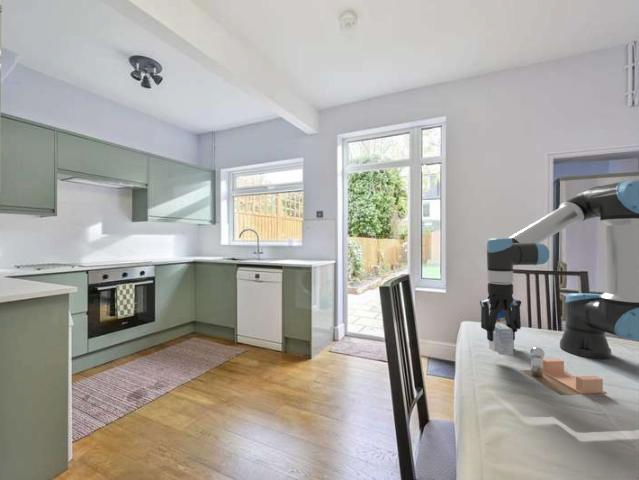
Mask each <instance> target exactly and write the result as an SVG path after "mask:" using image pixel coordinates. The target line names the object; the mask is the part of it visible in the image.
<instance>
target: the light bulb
mask: <svg viewBox="0 0 639 480" xmlns="http://www.w3.org/2000/svg"><path fill="white" fill-rule="evenodd" d="M529 353H530V356H531V357H530V359H531V360H530V361H531V362H530V364H531V365H530V367H531V368H530V370H531V375H532V376H534V377H537V378H543V359H544V357H545V351H544V350H543V349H542V348H540V347H538V346H534V347H532V348H531V349H530V351H529Z"/></svg>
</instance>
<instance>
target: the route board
mask: <svg viewBox="0 0 639 480" xmlns="http://www.w3.org/2000/svg"><path fill="white" fill-rule="evenodd" d="M520 372H522V373H524V374H525V375H527V376H528V377H530V378H532V379H533V380H536V381H537V383H540V384H542V385H544V386H545V387H547V388H548V389H550V390H552V391H554V392H555V393H557V394H558V395H561V396H566V395H567V396H569V395H570V396H571V395H581V394H580V393H578V392H576V391H575V390H573V389H571V388H569V387H567V386H566V385H564V384H562V383H560V382H558V381H557V380H555V379H553V378H551V377H549V376H547V375H546V374H544V373H543V378H537V377H534V376H532V375H531V369H521V370H520ZM564 372H565V373H567V374H569V375H571V376H573V377H575V378H576V376H574V375H572V374H570V373H568V372H566V371H564ZM603 392H604V393H598V394H607V391H604V390H603ZM598 394H597V395H598Z"/></svg>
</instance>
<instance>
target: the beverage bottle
mask: <svg viewBox="0 0 639 480" xmlns="http://www.w3.org/2000/svg"><path fill="white" fill-rule="evenodd" d="M510 307H511V309H512V304H511V305H510ZM495 310H496V309H495ZM511 314H512V312H511ZM496 323H503V324H505V325H506V326H507V324H506V321H505V317H504V314H503V311H502V310H500V312H499V313H498V316H497V320H496ZM514 345H515V340H513V350H514V349H515V346H514Z"/></svg>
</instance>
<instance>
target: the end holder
mask: <svg viewBox="0 0 639 480" xmlns="http://www.w3.org/2000/svg"><path fill="white" fill-rule="evenodd" d="M565 372H566V371H565V361H564V360H563V359H561V358H543V373H544V374H546V375H547V376H549V377H551V378H553V379H555V380H557V381H558V382H560V383H562V384H564V385H566V386H567V387H569V388H571V389H573V390H575V391H576V392H578V393H580V394H579V395H598V393H603V394H605V393H604V392H605V391H604V389H603V388H604V386H603V385H604V384H603V383H604V379H603V378H601V377H599V376H597V375H585V376H584V375H579V376H578V375H577V376H574V375H572V374H570V373H568V372H566V373H565ZM567 373H568V374H567ZM569 374H570V375H569ZM571 375H572V376H571ZM573 376H574V377H573ZM575 377H576V378H575ZM603 391H604V392H603Z"/></svg>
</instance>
